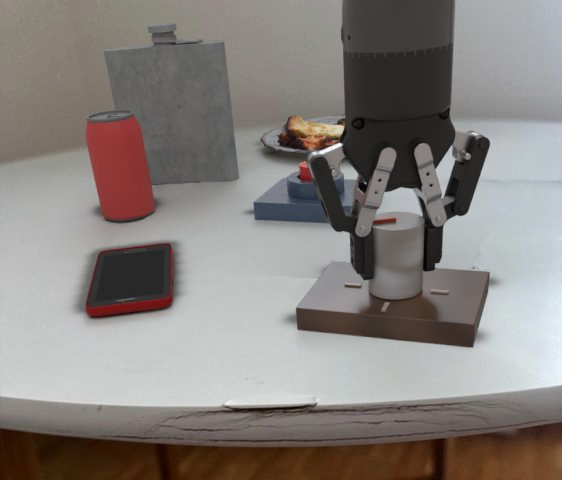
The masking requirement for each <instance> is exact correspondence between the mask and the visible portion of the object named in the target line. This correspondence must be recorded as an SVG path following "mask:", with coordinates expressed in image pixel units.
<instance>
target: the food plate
mask: <svg viewBox="0 0 562 480" xmlns="http://www.w3.org/2000/svg"><path fill="white" fill-rule="evenodd" d="M344 126H345V113H343V114H342V113H341V114H336V115H325V116H319V117H313V118H307V119H303V117H300V116H299V115H290V116H288V118H287V121H286V123H285V124H284V125H280V126H277V127H275V128H273V129H271V130H269V131H267V132H264V133H263V135H262V136H261V137H260V139H259V141H260V142H261V143H262V144H263V147H265V148H267V149H270V152H272V151H274V152H278V151H279V150H280V151H281V150H282V153H284V154H288V153H298V154H301V155H303V156H305V155H306V153H307V152H308V151H309V150H311V149H315V150H318V151H321V150H324V149H326V148H328V147H331V146H333V145H335V144H338V143H339V140H340V137H341V135H342V132H343V130H344ZM272 149H273V150H272Z"/></svg>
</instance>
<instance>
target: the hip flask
mask: <svg viewBox="0 0 562 480" xmlns="http://www.w3.org/2000/svg"><path fill="white" fill-rule="evenodd" d="M147 31H148V34H151V36H150V37H151V42H152V44H143V45H134V46H120V47H113V48H107V49H104V50H103V53H104V59H105V65H106V70H107V75H108V80H109V85H110V90H111V97H112V101H113V106H114V110H122V109H124V110H132V111H133V112H134V116H135V118H136V119H137V121H138V123H139V125H140V127H141V130H142V134H143V140H144V146H145V151H146V157H147V163H148V168H149V174H150V180H151V186H153V185H152V184H158V185H167V184H166V183H172V184H186V183H185V182H196V183H203V182H205V183H206V182H207V183H208V182H210V183H211V182H212V183H213V182H216V183H228V182H233V181H237V180H239V178H240V175H239V173H240V171H239V165H238V156H237V146H236V136H235V129H234V127H235V126H234V118H233V117H234V116H233V109H232V101H231V100H232V99H231V89H230V83H229V82H230V81H229V72H228V64H227V63H228V62H227V55H226V45H225V41H224V40H204V38H178V37H177V35H176V34H175V31H177V23H176V22H160V23H155V24H150V25H147Z"/></svg>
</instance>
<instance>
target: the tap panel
mask: <svg viewBox="0 0 562 480" xmlns="http://www.w3.org/2000/svg"><path fill="white" fill-rule="evenodd" d="M490 274H491V271H489V270H488V271H486V270H471V269H456V268H453V269H452V268H444V267H443V268H442V267H441V268H440V267H435V270H434V271H428V272H425V271H424V270H423V289H422V291H421V292H420V293H419V294H418V295H416V296H414V297H411V298H407V299H400V300H389V299H383V298H379V297H376V296H374V295H372V294H371V293H370V292H369V287H368V280H363V279H362V277H361V276H360V274H357V273H356V271H355V270H354V268H353V267H352V264H351V261H336V260H332V261H330V263H329V264H328V265H327V266H326V268H325V269H324V271H322V273H321V275H320V276H319V277H318V279H317V280H316V281H315V282H314V284H313V285H312V287H310V289H309V290H308V291H307V293H306V294H305V295H304V297H303V298H302V299H301V300H300V301H299V303H298V305H296V307H295V316H296V318H295V319H296V329H297V330H298V331H307V332H317V333H326V334H336V335H345V336H356V337H364V338H374V339H385V340H395V341H403V342H413V343H422V344H423V343H424V344H433V345H444V346H453V347H463V348H472V349H473V348H474V345H475V342H476V338H477V334H478V331H479V328H480V324H481V320H482V317H483V313H484V310H485V305H486V301H487V298H488V295H489V287H490Z"/></svg>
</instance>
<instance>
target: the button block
mask: <svg viewBox="0 0 562 480" xmlns="http://www.w3.org/2000/svg"><path fill="white" fill-rule="evenodd" d="M333 180H334V183H335V186H336V189H337V192H338V195H339V197H340V200H341V203H342V206H343V209H344V211H346V212H350V210H351V206H352V203H353V199H354V195H353V193H354V188H355V184H356V181H357V179H351V178H350V179H347V178H346V179H345V174H344V172H342V170H340V174H339V175H338V177H337V178H335V179H333ZM375 192H376V191H375ZM252 205H253V214H254V220H255V221H268V222H269V221H270V222H271V221H273V222H293V223H313V224H315V223H316V224H329V222H328V221H327V219H326V217H325V214H324V212H323V209H322V206H321V203H320V200H319V197H318V195H317V192H316V189H315V186H314V183H313V181H304V180H300V173H299V170H298V171H294V172H291V173H290V174H289V175H287V176H286V177H283V178H281V179H279V181H277V182H276V183H275V184H274V185H273V186H271V187H270V188H269V189H267V191H265V192H264V193H262V195H260V196H259V197H258V198H257V199H255V200H254V201H253V204H252Z"/></svg>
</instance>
